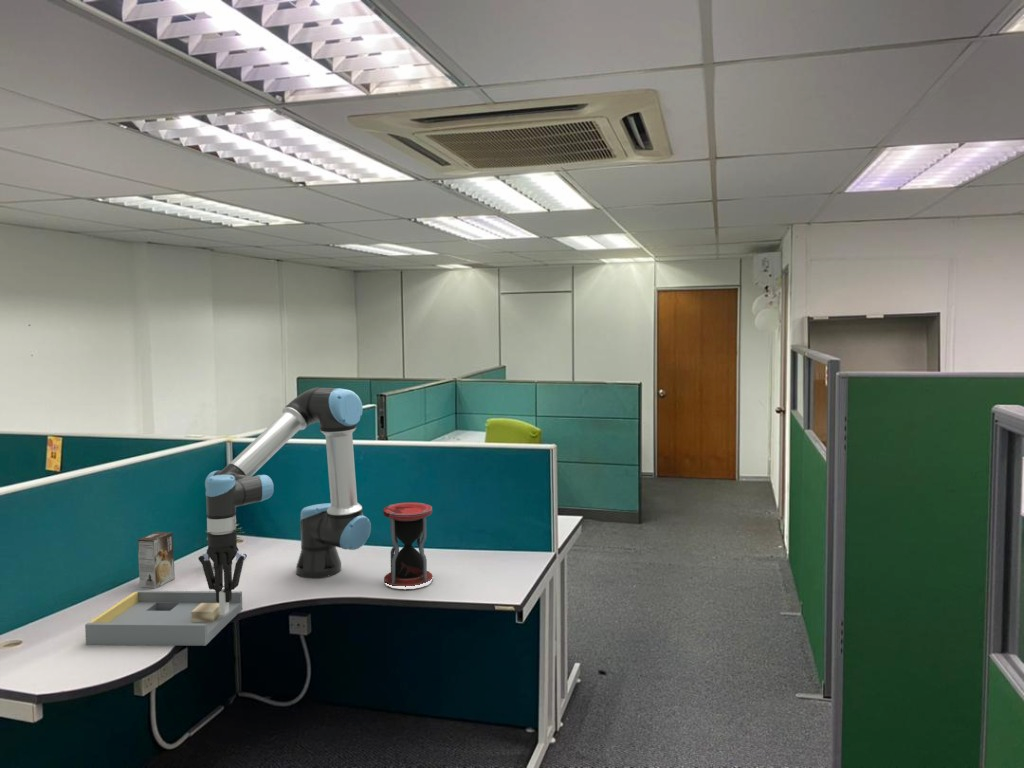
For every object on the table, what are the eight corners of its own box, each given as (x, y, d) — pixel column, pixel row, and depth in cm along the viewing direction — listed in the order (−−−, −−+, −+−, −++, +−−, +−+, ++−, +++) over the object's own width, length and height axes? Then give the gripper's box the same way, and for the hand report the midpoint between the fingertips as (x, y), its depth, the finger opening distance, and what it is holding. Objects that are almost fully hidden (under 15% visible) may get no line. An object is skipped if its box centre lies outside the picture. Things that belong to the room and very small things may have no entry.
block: (222, 613, 197) (222, 603, 196) (212, 622, 191) (212, 611, 190) (201, 613, 197) (201, 603, 196) (191, 622, 191) (191, 611, 190)
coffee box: (158, 577, 232) (157, 531, 231) (175, 578, 231) (173, 532, 230) (138, 587, 223) (137, 539, 222) (156, 588, 222) (154, 540, 221)
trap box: (242, 609, 206) (241, 591, 205) (205, 645, 182) (204, 625, 181) (136, 608, 206) (136, 590, 206) (86, 644, 182) (85, 624, 182)
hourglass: (406, 570, 240) (405, 499, 238) (442, 579, 231) (442, 506, 229) (373, 584, 226) (372, 509, 225) (410, 594, 218) (410, 517, 216)
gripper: (250, 527, 195) (252, 607, 197) (204, 527, 195) (207, 607, 197) (239, 534, 188) (242, 618, 190) (192, 534, 188) (195, 618, 190)
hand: (224, 612), depth 193 cm, fingers closed
